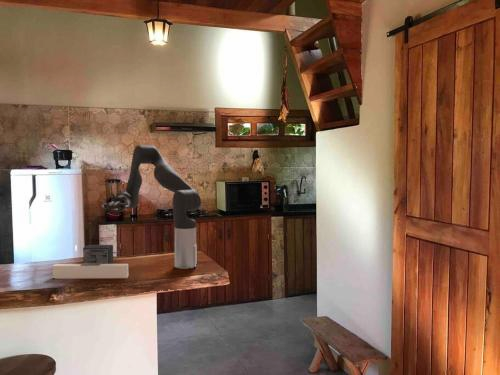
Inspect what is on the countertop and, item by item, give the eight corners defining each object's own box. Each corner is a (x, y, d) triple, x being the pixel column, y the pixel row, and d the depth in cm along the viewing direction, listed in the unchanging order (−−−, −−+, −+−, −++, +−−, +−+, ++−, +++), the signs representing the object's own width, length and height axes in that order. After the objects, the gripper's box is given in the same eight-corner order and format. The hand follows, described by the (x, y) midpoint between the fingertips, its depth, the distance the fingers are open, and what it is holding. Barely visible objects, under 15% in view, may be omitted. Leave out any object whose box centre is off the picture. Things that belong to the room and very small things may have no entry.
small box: (114, 268, 165) (113, 244, 165) (109, 273, 159) (109, 247, 158) (88, 268, 165) (88, 244, 164) (83, 273, 158) (82, 247, 158)
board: (128, 276, 155) (128, 262, 154) (126, 278, 152) (126, 264, 152) (55, 276, 153) (55, 263, 153) (52, 278, 151) (52, 264, 150)
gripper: (106, 196, 193) (94, 199, 176) (133, 196, 194) (124, 199, 177) (106, 211, 194) (95, 216, 177) (133, 211, 195) (124, 216, 177)
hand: (110, 208), depth 177 cm, fingers closed
